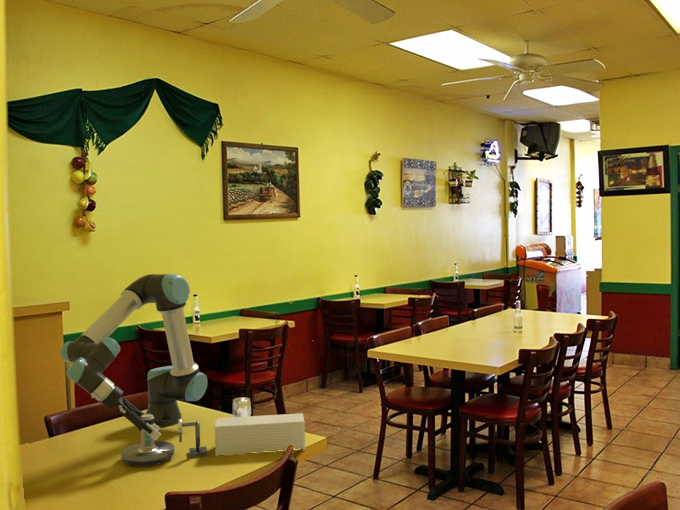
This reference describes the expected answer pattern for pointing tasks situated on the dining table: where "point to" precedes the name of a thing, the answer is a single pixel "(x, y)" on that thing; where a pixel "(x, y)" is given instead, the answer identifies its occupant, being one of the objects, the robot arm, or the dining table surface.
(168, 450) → the turntable
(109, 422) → the dining table surface
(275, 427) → the white rectangular block
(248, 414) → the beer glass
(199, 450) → the dial indicator
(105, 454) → the dining table surface
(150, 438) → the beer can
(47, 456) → the dining table surface
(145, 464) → the turntable base
